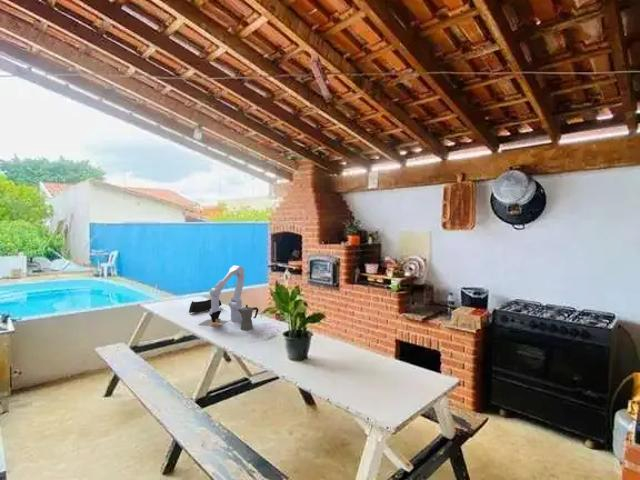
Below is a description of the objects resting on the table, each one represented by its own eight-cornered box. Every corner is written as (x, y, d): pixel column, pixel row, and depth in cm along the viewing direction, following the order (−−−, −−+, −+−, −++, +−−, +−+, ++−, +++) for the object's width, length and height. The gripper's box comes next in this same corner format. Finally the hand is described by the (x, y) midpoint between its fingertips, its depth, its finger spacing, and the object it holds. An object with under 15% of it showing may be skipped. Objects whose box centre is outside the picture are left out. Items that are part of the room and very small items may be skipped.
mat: (228, 321, 288) (228, 320, 288) (219, 327, 272) (219, 326, 272) (207, 319, 291) (207, 319, 291) (197, 325, 276) (197, 325, 276)
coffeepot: (238, 331, 264) (238, 306, 263) (236, 327, 272) (236, 303, 271) (259, 329, 269) (259, 305, 268) (257, 325, 278) (257, 302, 277)
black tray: (187, 304, 305) (217, 289, 326) (185, 303, 307) (215, 288, 328) (193, 322, 310) (222, 306, 331) (191, 321, 312) (220, 305, 333)
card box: (212, 321, 280) (212, 318, 280) (220, 322, 279) (220, 318, 279) (209, 323, 276) (209, 319, 276) (218, 324, 275) (218, 320, 275)
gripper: (214, 301, 285) (215, 318, 285) (205, 305, 270) (205, 323, 271) (223, 301, 283) (223, 319, 284) (214, 306, 269) (214, 324, 270)
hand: (215, 321), depth 278 cm, fingers closed on card box, 4 cm apart
